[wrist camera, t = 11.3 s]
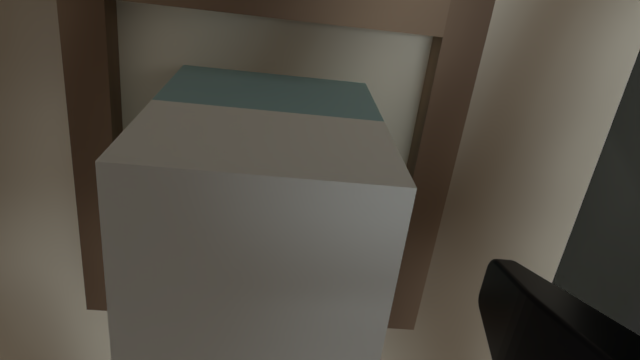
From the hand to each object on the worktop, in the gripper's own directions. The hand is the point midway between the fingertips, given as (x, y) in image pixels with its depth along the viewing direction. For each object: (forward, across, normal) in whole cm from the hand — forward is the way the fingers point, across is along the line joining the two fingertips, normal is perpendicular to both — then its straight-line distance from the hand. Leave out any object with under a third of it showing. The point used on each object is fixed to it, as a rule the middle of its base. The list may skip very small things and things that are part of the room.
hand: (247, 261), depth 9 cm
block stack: (+5, 0, 0) cm, 5 cm away
